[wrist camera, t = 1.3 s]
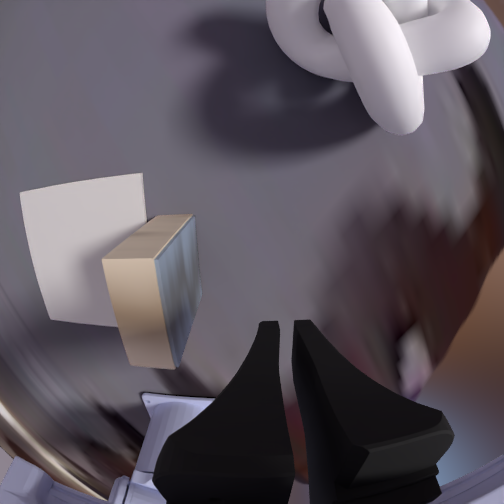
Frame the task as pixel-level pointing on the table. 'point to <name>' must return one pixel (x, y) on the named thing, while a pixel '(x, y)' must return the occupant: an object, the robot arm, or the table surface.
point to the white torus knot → (381, 47)
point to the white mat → (80, 241)
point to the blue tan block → (155, 289)
